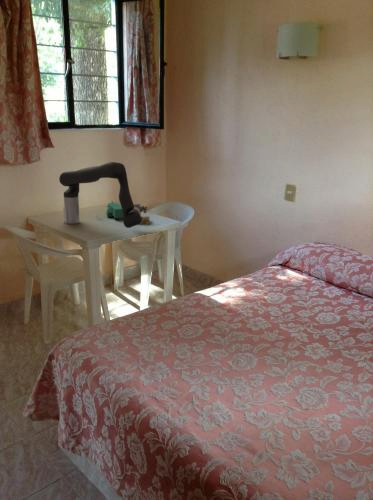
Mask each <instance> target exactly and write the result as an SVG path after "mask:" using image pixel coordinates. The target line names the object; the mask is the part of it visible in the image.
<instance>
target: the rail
mask: <svg viewBox="0 0 373 500" xmlns="http://www.w3.org/2000/svg"><path fill="white" fill-rule="evenodd" d="M141 218H142V222H141V223H140V224H139V225H150V221H151V220H150V218H151V216H146V215H143V216H142V215H141Z"/></svg>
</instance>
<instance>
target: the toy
mask: <svg viewBox="0 0 373 500" xmlns="http://www.w3.org/2000/svg"><path fill="white" fill-rule="evenodd" d="M106 208H107V209H106V217H107V218H112V217H113V216H114V217H113V218H114V219H121V218H122V219H123V211H122V207H121V204H120V203H118V202H116V203H115V202H113V201H111V202H109V203H107V206H106Z"/></svg>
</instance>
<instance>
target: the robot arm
mask: <svg viewBox="0 0 373 500" xmlns="http://www.w3.org/2000/svg"><path fill="white" fill-rule="evenodd" d="M104 178H105V179H107V178H108V179H116V180H118V183H119V193H118V201H119V205H120V206H121V207H122V211H123V218H122V222H123V227H125V228H127V229H130V228H132V227H137V226H138V225H141V224H140V223H141V222H142V218H141V216H142V215H141V213H142V212H143V213H144V214H146V213H147V209H148V207H147V206H144V205H142V204H141V205H142V206H140V207H138V206H136V205H134V204H135V203H134V202H133V199H132V196H131V192H130V187H129V180H128V176H127V171H126V167H125V165H124V164H123V163H121V162H115V161H109V162H106V163H103V164H101V165H94V166H89V167H84V168H80V169H78V170H70V171H69V170H68V171H64V172H62V173H61V174H60V175H59V183H60V184H61V186H63V187H68V188H67V189H66V190H65V191H63V205H64V207H63V220H64V221H63V222H64V223H66V224H67V225H73V224H74V225H75V224H79V223H80V221H81V220H80V205H79V204H80V202H79V201H80V200H79V193H80V184H91V183H95V182H98V181H99V180H100V179H104ZM140 215H141V216H140Z"/></svg>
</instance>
